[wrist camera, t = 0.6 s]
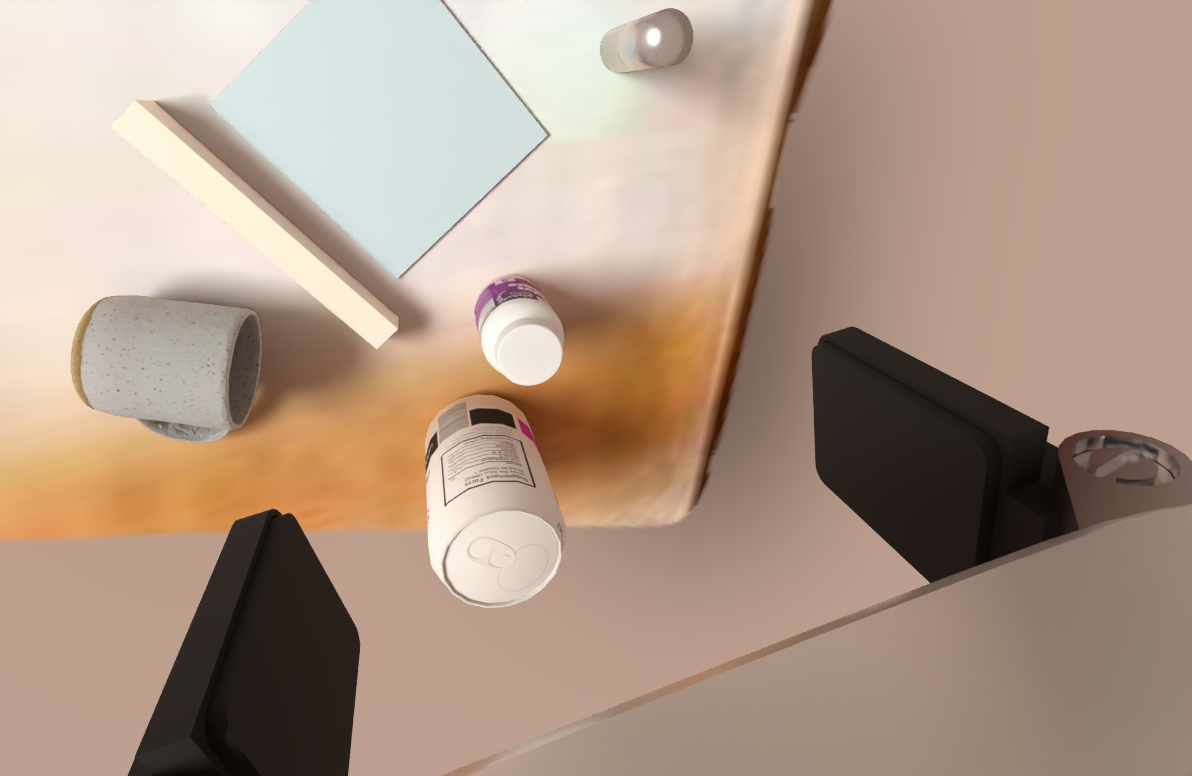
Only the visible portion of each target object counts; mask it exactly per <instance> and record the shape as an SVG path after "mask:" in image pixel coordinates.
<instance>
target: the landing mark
mask: <svg viewBox="0 0 1192 776" xmlns="http://www.w3.org/2000/svg"><path fill="white" fill-rule="evenodd" d="M209 106H210V107H211V108H212V109H213V110H214V111H215V112H216V113H217V114H219V115H220V116H221V117H222V118H223V119H224V120H225V121H226V122H227V123H228V124H229V125H230V126H232V127H233V128H234V129H235V130H236V131H237V132H238V133H239V134H240V135H241V136H242V137H244V138H245V139H246V140H247V141H248V142H249V143H250V144H251V145H252V146H253V147H254V148H255V149H257V150H258V151H259V152H260V153H261V154H262V155H263V156H264V157H265V158H266V159H267V160H268V161H270V162H271V163H272V164H273V165H274V166H275V167H276V168H277V169H278V170H279V171H280V172H282V173H283V174H284V175H285V176H286V177H287V178H288V179H289V180H290V181H291V182H292V183H293V184H295V185H296V186H297V187H298V188H299V189H300V190H301V191H302V192H303V193H304V194H305V195H307V196H308V197H309V198H310V199H311V200H312V201H313V202H314V203H315V204H316V205H317V206H318V207H320V208H321V209H322V210H323V211H324V212H325V213H326V214H327V215H328V216H329V217H330V218H331V219H333V220H334V221H335V222H336V223H337V224H338V225H339V226H340V227H341V228H342V229H343V230H345V231H346V232H347V233H348V234H349V235H350V236H351V237H352V238H353V239H354V240H355V241H356V242H358V243H359V244H360V245H361V246H362V247H363V248H364V249H365V250H366V251H367V252H368V253H370V254H371V255H372V256H373V257H374V258H375V259H376V260H377V261H378V262H379V263H380V264H381V265H383V266H384V267H385V268H386V269H387V270H388V271H389V272H390V273H391V274H392V275H393V276H394V277H396V278H399V277H400V276H401V275H402V274H403V273H404V272H405V271H406V270H407V269H408V268H409V267H410V266H411V265H412V264H413V263H414V262H415V261H416V260H417V259H418V258H419V257H421V256H422V255H423V254H424V253H425V252H426V251H427V250H428V249H429V248H430V247H431V246H432V245H433V244H434V243H435V242H436V241H437V240H438V239H439V238H440V237H441V236H443V235H444V234H445V233H446V232H447V231H448V230H449V229H450V228H451V227H452V226H453V225H454V224H455V223H456V222H457V221H458V220H459V219H460V218H461V217H462V216H463V215H465V214H466V213H467V212H468V211H469V210H470V209H471V208H472V207H473V206H474V205H475V204H476V203H477V202H478V201H479V200H480V199H481V198H482V197H483V196H484V195H485V194H487V193H488V192H489V191H490V190H491V189H492V188H493V187H494V186H495V185H496V184H497V183H498V182H499V181H500V180H501V179H502V178H503V177H504V176H505V175H506V174H507V173H509V172H510V171H511V170H512V169H513V168H514V167H515V166H516V165H517V164H518V163H519V162H520V161H521V160H522V159H523V158H524V157H525V156H526V155H527V154H528V153H529V152H531V151H532V150H533V149H534V148H535V147H536V146H537V145H538V144H539V143H540V142H541V141H542V140H543V139H544V138H545V137H546V136H547V134H546V132H545V131H544V130H543V128H542V127H541V126H540V125H539V123H538V122H537V121H536V120H535V118H534V117H533V116H532V115H531V113H530V112H529V111H528V110H527V108H526V107H525V106H524V105H523V103H522V102H521V101H520V100H519V98H518V97H517V96H516V95H515V93H514V92H513V91H512V90H511V88H510V87H509V86H508V85H507V83H506V82H505V81H504V80H503V78H502V77H501V76H500V75H499V73H498V72H497V71H496V70H495V68H494V67H493V66H492V65H491V63H490V62H489V61H488V59H487V58H486V57H485V56H484V54H483V53H482V52H481V51H480V49H479V48H478V47H477V46H476V44H475V43H474V42H473V41H472V39H471V38H470V37H469V36H468V34H467V33H466V32H465V31H464V29H463V28H462V27H461V26H460V24H459V23H458V22H457V21H456V19H455V18H454V17H453V16H452V14H451V13H450V12H449V11H448V9H447V8H446V7H445V6H444V4H443V3H442V2H441V1H440V0H311V1H310V2H309V3H308V4H307V5H306V6H305V7H304V8H303V9H302V10H301V11H300V12H299V13H298V14H297V15H296V16H295V17H294V18H293V19H292V20H291V21H290V22H289V23H288V25H287V26H286V27H285V28H284V29H283V30H282V31H281V32H280V33H279V34H278V35H277V36H276V37H275V38H274V39H273V40H272V41H271V42H270V43H269V44H268V45H267V46H266V47H265V48H264V49H263V50H262V51H261V52H260V53H259V54H258V55H257V56H256V57H255V58H254V59H253V61H252V62H251V63H250V64H249V65H248V66H247V67H246V68H245V69H244V70H243V71H242V72H241V73H240V74H239V75H238V76H237V77H236V78H235V79H234V80H233V81H232V82H231V83H230V84H229V85H228V86H227V87H226V88H225V89H224V90H223V91H222V92H221V93H220V94H219V96H218V97H217V98H216V99H215V100H214V101H213V102H212V103H211V104H210V105H209Z"/></svg>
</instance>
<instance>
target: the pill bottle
mask: <svg viewBox="0 0 1192 776" xmlns="http://www.w3.org/2000/svg"><path fill="white" fill-rule="evenodd" d="M474 317H475V322H476V325H477V329H478V334H479V337H480V341H481V346H482V350H483V353H484V355H485V357H486V359H487V360H488V362H489V363H490V364H491V366H492V367H494V368H495V369H496V370H497V371H499V372H500V373H502V374H504V375H505V376H506V377H507V378H508V379H509V380H511V381H512V382H514V383H517V384H520V385H526V386H531V385H537V384H540V383H543V382H545V381H547V380H548V379H550V378H551V377H552V376H553V375H554V374H555V373H556V371H557V370H558V368H559V366H560V364H561V361H562V356H563V351H562V349H563V345H564V331H563V327H562V324H561V321H560V319H559V317H558V316H557V314H556V313H555V311H554V310H553V308H552V307H551V305H550V304H549V302H548V301H547V299H546V298H545V297H544V295H543V293H542V292H541V291H540V289H539V288H538V287H537V286H536V285H535V284H533V283H532V282H531V281H529V280H528V279H525V278H523V277H520V276H514V275H507V276H502V277H499V278H496V279H494V280H492V281H490V282H489V283H488V284H486V285H485V286H484V287H483V288H482V290H481V291H480V292H479V294H478V296H477V298H476V301H475V305H474Z"/></svg>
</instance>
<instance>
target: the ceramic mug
mask: <svg viewBox="0 0 1192 776" xmlns="http://www.w3.org/2000/svg"><path fill="white" fill-rule="evenodd" d="M261 358H262V329H261V325H260V320H259V318H258V315H257V314H256V313H255V312H254V311H253V310H251V309H246V308H238V307H229V306H221V305H212V304H204V303H196V302H186V301H175V300H167V299H160V298H153V297H146V296H136V295H135V296H111V297H106V298H104V299H101V300H99V301H98V302H96V303H95V304H94V305H92V306H91V307H90V309H89V310H88V311H87V312H86V313H85V314H84V316H83V318H82V319H81V321H80V323H79V325H78V327H77V330H76V333H75V336H74V340H73V345H72V351H71V373H72V380H73V384H74V387H75V389H76V391H77V393H78V395H79V397H80V398H81V399H82V401H83V402H84V403H85V404H86V405H87V406H89V407H91V408H92V409H95V410H98V411H101V412H104V413H108V414H112V415H116V416H122V417H128V418H135V419H137V420H138V421H139V422H140V423H141V424H142V425H143V426H144V427H145V428H147V429H149V430H151V431H152V432H154V433H157V434H159V435H161V436H164V437H168V438H171V439H174V440H180V441H186V442H195V443H202V442H212V441H216V440H218V439H220V438H222V437H224V436H225V435H226V434H228V433H229V432H230V430H236V429H239V428H241V427H242V426H243V424H244V423H245V422H246V420H247V418H248V416H249V414H250V411H251V408H252V405H253V403H254V399H255V395H256V392H257V386H258V382H259V377H260V369H261Z"/></svg>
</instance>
